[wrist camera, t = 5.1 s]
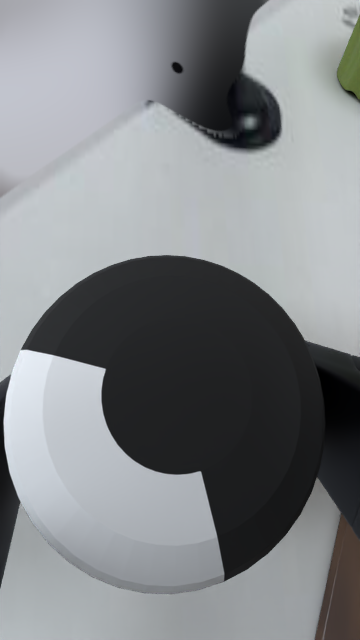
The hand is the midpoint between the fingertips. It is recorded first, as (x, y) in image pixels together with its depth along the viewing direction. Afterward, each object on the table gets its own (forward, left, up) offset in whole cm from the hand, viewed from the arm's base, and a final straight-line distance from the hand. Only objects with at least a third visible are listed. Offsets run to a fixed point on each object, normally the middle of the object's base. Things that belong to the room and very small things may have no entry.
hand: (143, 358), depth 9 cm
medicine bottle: (-2, 0, -8) cm, 8 cm away
